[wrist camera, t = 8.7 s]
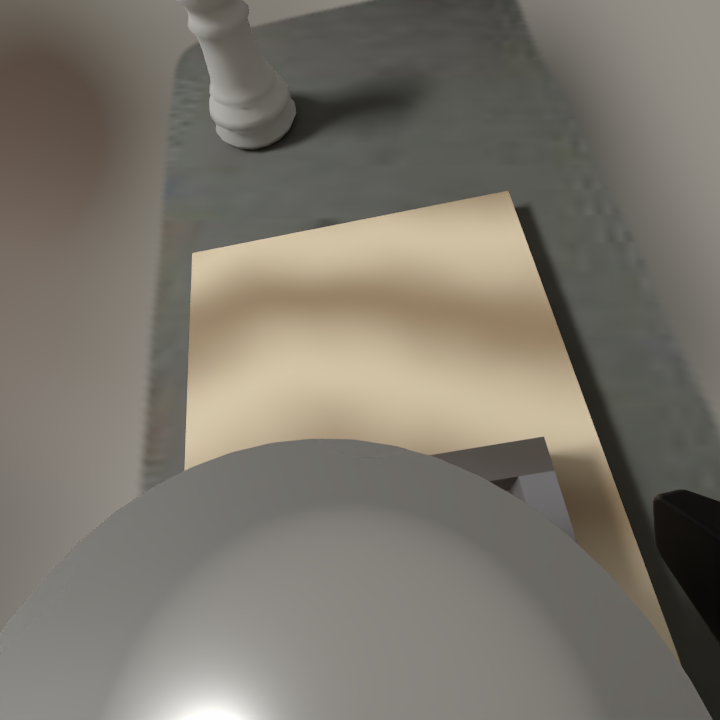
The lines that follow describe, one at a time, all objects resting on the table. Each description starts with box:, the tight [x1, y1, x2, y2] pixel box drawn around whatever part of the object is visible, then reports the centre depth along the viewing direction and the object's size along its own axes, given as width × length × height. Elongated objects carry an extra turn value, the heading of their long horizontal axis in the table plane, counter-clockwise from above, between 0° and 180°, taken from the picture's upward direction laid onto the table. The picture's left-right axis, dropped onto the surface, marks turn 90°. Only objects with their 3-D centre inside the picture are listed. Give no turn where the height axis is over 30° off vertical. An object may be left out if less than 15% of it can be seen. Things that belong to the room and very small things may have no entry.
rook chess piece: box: [176, 0, 296, 150], centre depth 23 cm, size 4×4×8 cm
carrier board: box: [185, 191, 682, 667], centre depth 15 cm, size 24×14×3 cm, turn 7°
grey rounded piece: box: [0, 439, 713, 720], centre depth 8 cm, size 6×6×13 cm
